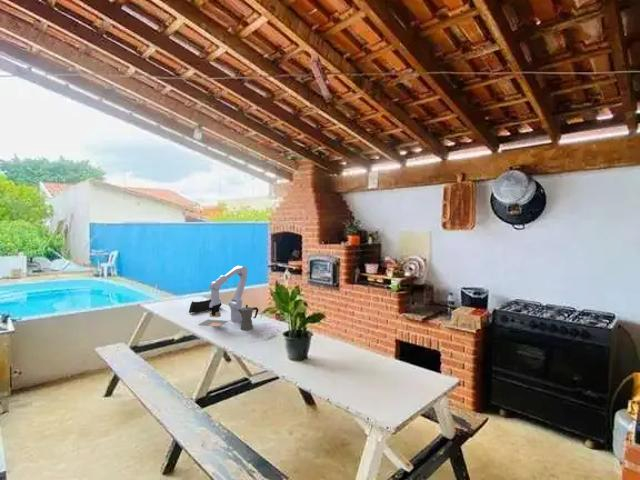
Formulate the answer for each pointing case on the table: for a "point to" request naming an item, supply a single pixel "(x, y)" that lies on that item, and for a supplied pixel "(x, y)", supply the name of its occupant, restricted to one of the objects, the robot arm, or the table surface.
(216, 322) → the mat
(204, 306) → the black tray
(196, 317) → the table surface
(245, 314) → the coffeepot
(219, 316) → the card box
